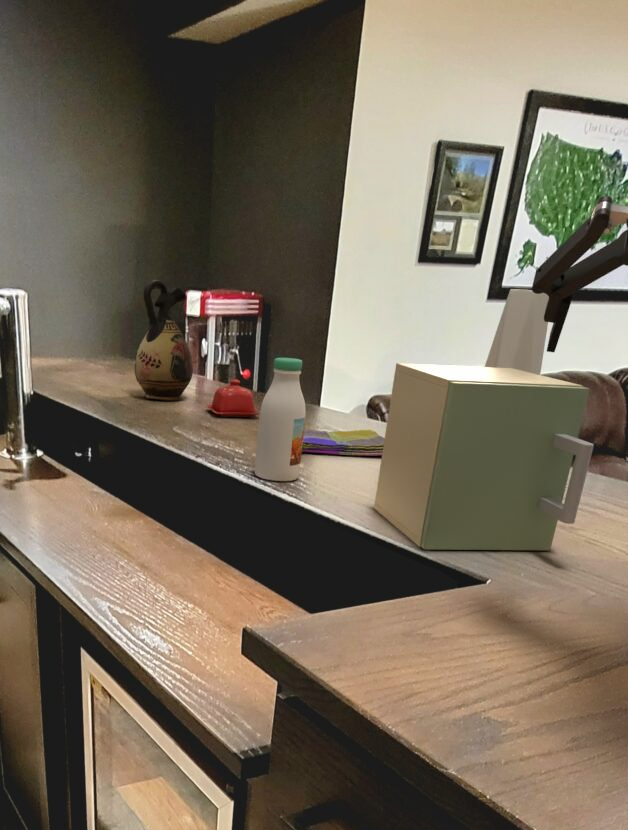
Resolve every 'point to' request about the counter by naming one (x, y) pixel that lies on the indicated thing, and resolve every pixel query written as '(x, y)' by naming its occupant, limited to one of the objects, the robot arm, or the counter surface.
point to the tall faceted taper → (520, 333)
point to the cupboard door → (506, 467)
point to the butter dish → (233, 401)
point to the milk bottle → (281, 424)
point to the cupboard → (425, 435)
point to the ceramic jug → (163, 348)
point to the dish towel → (343, 442)
